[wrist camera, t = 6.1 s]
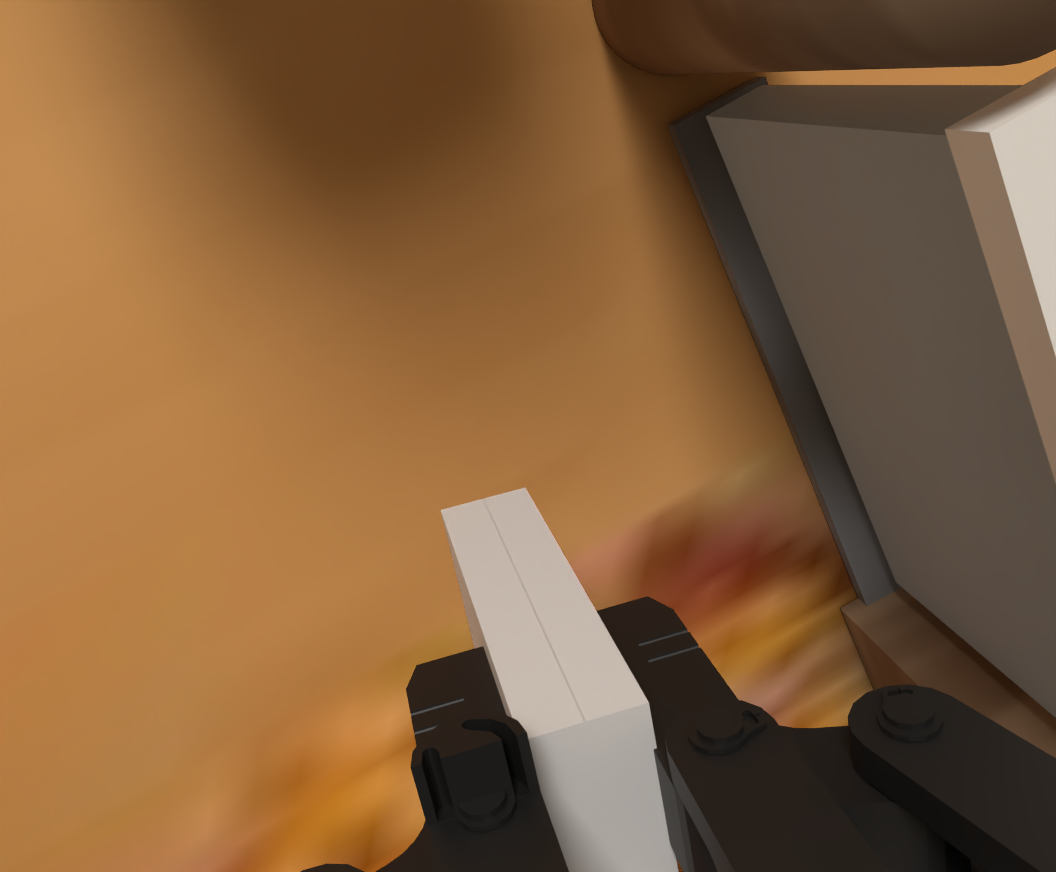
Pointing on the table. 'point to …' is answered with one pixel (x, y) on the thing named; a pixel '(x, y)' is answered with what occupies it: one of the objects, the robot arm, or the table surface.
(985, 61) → the posts
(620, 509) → the table surface
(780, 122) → the white thick panel
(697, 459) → the table surface
